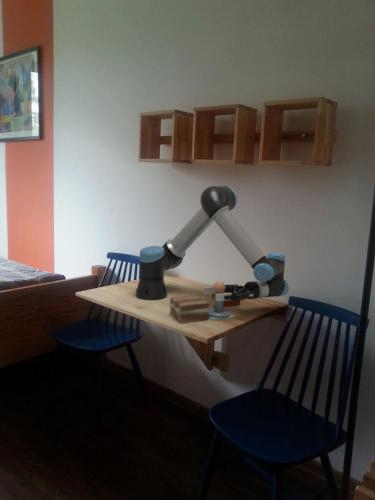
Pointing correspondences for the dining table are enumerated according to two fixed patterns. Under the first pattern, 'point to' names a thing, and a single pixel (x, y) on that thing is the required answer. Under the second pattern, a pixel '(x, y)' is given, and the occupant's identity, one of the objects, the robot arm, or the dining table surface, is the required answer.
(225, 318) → the mat
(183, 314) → the box
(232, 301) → the carton
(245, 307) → the dining table surface
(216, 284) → the arcade joystick
